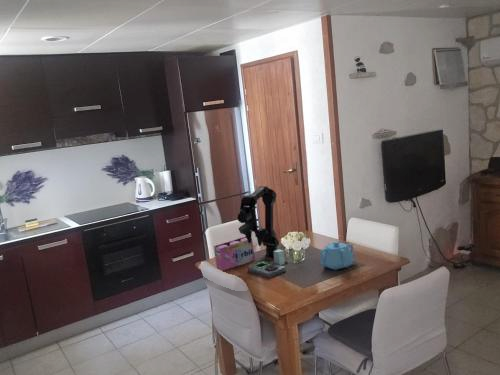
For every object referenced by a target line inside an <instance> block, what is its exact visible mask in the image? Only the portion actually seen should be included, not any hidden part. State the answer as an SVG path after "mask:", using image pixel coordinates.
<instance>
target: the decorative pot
mask: <svg viewBox="0 0 500 375" xmlns="http://www.w3.org/2000/svg"><path fill="white" fill-rule="evenodd" d="M353 251H354V246H353V245H352V244H351V243H344V242H339V241H333V242H330V243H327V244H326V245H325V247H324V248H323V249H321V250H320V254H319V255H320V258H321V259H322V260H320V265H321V266H325V267H326V268H328V269H331V270H333V271H338V270H339V269H346V268H349V267H350V266H352V264H353V262H354V258H355V254H354V253H353Z"/></svg>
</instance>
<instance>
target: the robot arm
mask: <svg viewBox="0 0 500 375" xmlns="http://www.w3.org/2000/svg"><path fill="white" fill-rule="evenodd" d="M260 198H261V199H262V202H263V204H264V217H265V218H264V227H260V226H259V225H258V222H259V218H257V211H256V209H257V206H256V205H257V204H258V200H259V199H260ZM276 200H277V193H276V191H275V190H273V189H272V188H269V187H268V186H266V185H261V186H258V187H257V189H256V190H255V191H253V192H252V193H251V194H246V195H244V196H243V197H242V198H241V202H240V208H239V210H240V211H239V213H238V214H237V221H238V222H239V223H240V224H242V225H241V226H239V227H238V231H239V233H240V235H244V237H246V238H247V240H248V242H249V243H251V239H252V235H253V233H254V236H255V238H256V240H257V245H258V246H259V247H260V246H262V245H263V247H266V248H265V251H266V252H265V256H268V257H272V258H274V252H273V251H275V250H278V247H279V245H280V240H279V239H278V237H277V233H276V232H275V230H274V205H275V203H276Z"/></svg>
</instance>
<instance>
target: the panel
mask: <svg viewBox="0 0 500 375" xmlns="http://www.w3.org/2000/svg"><path fill="white" fill-rule="evenodd" d="M273 263H274V262H269V261H265V260H261V261H260V262H257V263H254V264H252V265H250V266H247V272H248V273H252V274H255V275H258V276H259V277H260V276H261V277H264V278H267V279H271V278H274V277H276V276H278V275H280V274H283V273H285V272H286V271H287V270H286V266H283V265H281V266H280V265H277V264H273Z"/></svg>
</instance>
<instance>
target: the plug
mask: <svg viewBox="0 0 500 375" xmlns="http://www.w3.org/2000/svg"><path fill="white" fill-rule="evenodd" d="M273 252H274V256H273V258H274V263H277V264H280V266H283V265H285V264H286V263H285V261H286V260H285V253H284V250H283V249H278V248H277V250H275V251H273ZM284 260H285V261H284Z"/></svg>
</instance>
